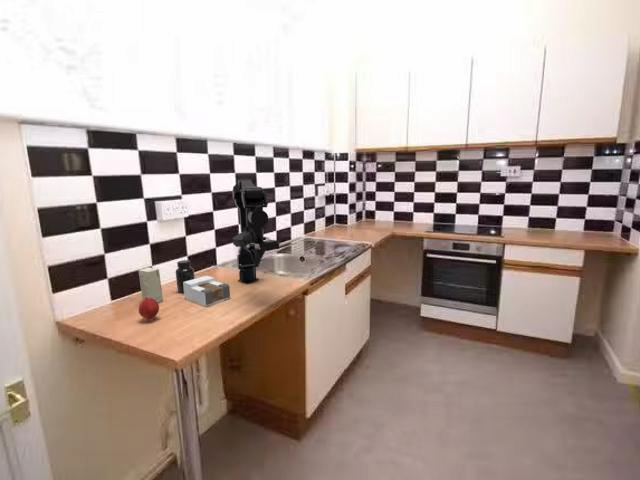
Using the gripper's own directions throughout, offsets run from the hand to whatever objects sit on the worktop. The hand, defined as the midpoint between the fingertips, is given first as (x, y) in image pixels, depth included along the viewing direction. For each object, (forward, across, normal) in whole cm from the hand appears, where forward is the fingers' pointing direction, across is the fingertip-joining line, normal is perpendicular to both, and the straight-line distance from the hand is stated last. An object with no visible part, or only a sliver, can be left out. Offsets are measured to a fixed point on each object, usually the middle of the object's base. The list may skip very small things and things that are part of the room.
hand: (256, 266), depth 122 cm
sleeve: (+12, -16, -11) cm, 23 cm away
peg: (+12, -14, -11) cm, 21 cm away
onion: (+13, -14, -33) cm, 38 cm away
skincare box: (+13, -29, -25) cm, 40 cm away
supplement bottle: (+13, -30, -11) cm, 34 cm away
